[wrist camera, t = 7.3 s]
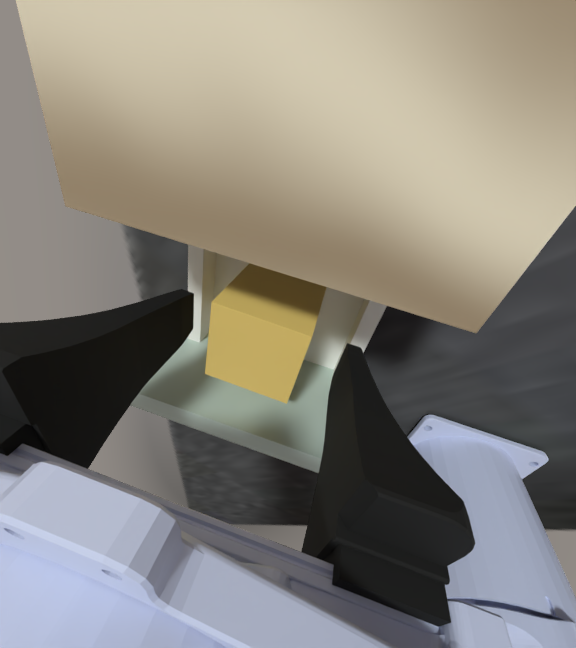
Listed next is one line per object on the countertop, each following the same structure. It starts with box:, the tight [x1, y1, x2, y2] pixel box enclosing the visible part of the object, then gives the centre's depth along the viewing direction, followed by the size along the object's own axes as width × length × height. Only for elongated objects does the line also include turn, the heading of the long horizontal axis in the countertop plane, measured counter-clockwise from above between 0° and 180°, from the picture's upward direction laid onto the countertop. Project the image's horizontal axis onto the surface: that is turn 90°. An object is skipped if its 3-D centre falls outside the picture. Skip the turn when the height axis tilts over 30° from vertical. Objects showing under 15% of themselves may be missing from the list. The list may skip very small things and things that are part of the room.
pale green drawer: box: [130, 244, 387, 473], centre depth 12 cm, size 14×12×7 cm
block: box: [205, 263, 326, 404], centre depth 14 cm, size 4×4×5 cm
